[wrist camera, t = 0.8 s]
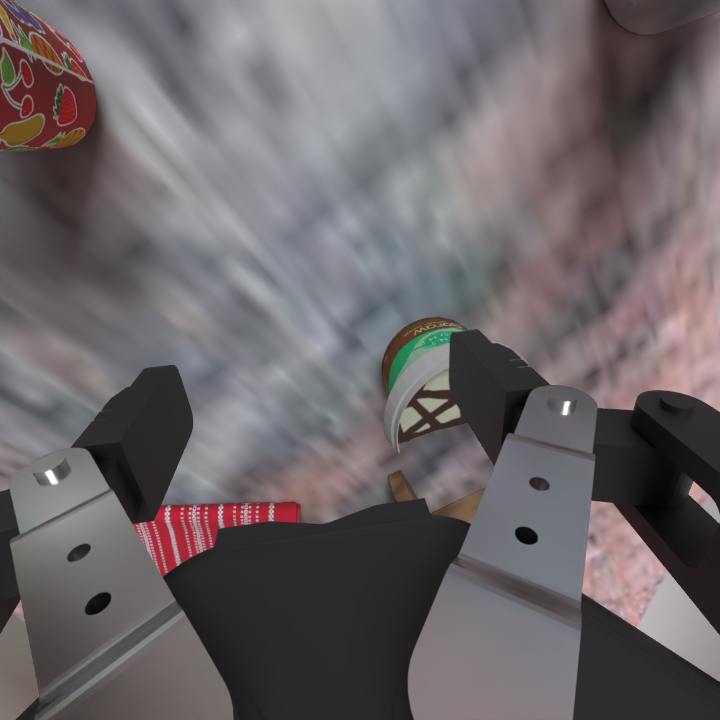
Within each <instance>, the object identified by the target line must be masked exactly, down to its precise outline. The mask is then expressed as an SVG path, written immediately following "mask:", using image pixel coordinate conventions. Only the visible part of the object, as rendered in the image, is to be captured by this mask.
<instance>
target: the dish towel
mask: <svg viewBox="0 0 720 720" xmlns="http://www.w3.org/2000/svg"><path fill="white" fill-rule="evenodd" d="M267 521H278V522H293V523H300V504H297V503H296V502H283V503H273V502H270V503H259V502H258V503H235V504H194V505H163V506H160V508H159V511H158V513H157V515H156V518H155V520H154V521H152V522H145V523H138V524H133V526H134V528H135V530H136V532H137V533H138V535H139V537H140V539H141V540H142V542H143V544H144V546H145V547H146V549H147V551H148V553H149V554H150V556H151V558H152V560H153V561H154V563H155V565H156V567H157V568H158V570H159V572H160V574H161V575H162V577H163V576H165V575H166V574H167V573H168V572H169V571H171V570H172V569H174V568H175V567H177V566H178V565H179V564H181V563H182V562H184V561H186V560H187V559H189V558H191V557H193V556H194V555H196V554H198V553H201V552H203V551H205V550H207V549H209V548H212V547H214V544H215V540H216V536H217V532H218V529H220V528H227V527H233V526H240V525H247V524H254V523H260V522H267Z"/></svg>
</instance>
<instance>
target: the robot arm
mask: <svg viewBox="0 0 720 720" xmlns="http://www.w3.org/2000/svg"><path fill="white" fill-rule="evenodd" d="M605 2H606V4H607V7H608V9H609V11H610V13H611V15H612V16H613V17H614V18H615V20H616V21H617V22H618V23H619V24H620V25H621V26H622V27H624V28H625V29H627V30H628V31H630V32H633V33H637V34H640V35H654V34H657V33H660V32H664V31H667V30H670V29H673V28H675V27H678V26H681V25H683V24H686V23H689V22H692V21H694V20H697V19H700V18H703V17H705V16H708V15H711V14H714V13H717V12H720V0H605ZM449 388H450V392H451V395H452V398H453V400H454V401H455V403H456V405H457V406H458V408H459V409H460V411H461V413H462V414H463V416H464V418H465V419H466V421H467V422H468V424H469V426H470V427H471V429H472V431H473V432H474V434H475V435H476V437H477V439H478V440H479V442H480V444H481V445H482V447H483V448H484V450H485V452H486V453H487V455H488V457H489V458H490V460H491V461H492V463H493V465H494V469H493V471H492V474H491V476H490V479H489V481H488V484H487V486H486V488H485V491H484V493H483V496H482V498H481V501H480V503H479V506H478V508H477V511H476V513H475V516H474V518H473V521H472V523H468V522H466V521H463V520H460V519H457V518H453V517H449V516H444V515H438V514H430V513H429V510H428V507H427V504H426V501H425V498H422V499H415V500H408V501H401V502H395V503H388V504H381V505H375V506H372V507H370V508H367V509H364V510H362V511H359V512H356V513H353V514H351V515H348V516H345V517H343V518H340V519H337V520H335V521H332V522H329V523H326V524H308V523H293V522H278V521H267V522H260V523H254V524H247V525H240V526H233V527H227V528H220V529H218V532H217V536H216V540H215V544H214V547H212V548H209V549H207V550H205V551H203V552H201V553H198V554H196V555H194V556H193V557H191V558H189V559H187V560H186V561H184V562H182V563H181V564H179V565H178V566H177V567H175V568H174V569H172V570H171V571H169V572H168V573H167V574H166V575H165V576H163V577H162V575H161V574H160V572H159V570H158V568H157V567H156V565H155V563H154V561H153V560H152V558H151V556H150V554H149V553H148V551H147V549H146V547H145V546H144V544H143V542H142V540H141V539H140V537H139V535H138V533H137V532H136V530H135V528H134V526H133V524H138V523H145V522H152V521H154V520H155V518H156V515H157V513H158V511H159V508H160V506H161V504H162V501H163V499H164V497H165V494H166V492H167V490H168V487H169V485H170V482H171V480H172V478H173V475H174V473H175V471H176V468H177V466H178V464H179V461H180V459H181V456H182V454H183V452H184V449H185V447H186V445H187V442H188V440H189V438H190V435H191V433H192V429H193V416H192V411H191V408H190V404H189V401H188V398H187V395H186V392H185V389H184V386H183V383H182V379H181V376H180V373H179V371H178V369H177V367H176V366H174V365H167V366H159V367H150V368H145V369H144V370H143V371H142V372H141V373H140V375H139V376H138V377H137V378H136V380H135V381H134V382H133V384H132V385H131V386H130V387H127V388H125V389H124V390H122V391H121V392H119V393H118V394H117V395H115V396H114V397H112V398H111V399H110V400H109V402H108V403H107V404H106V405H105V406H104V408H103V409H102V412H99V414H98V415H97V416H96V417H95V419H94V421H93V422H91V423H90V425H89V426H88V427H87V428H86V429H85V431H84V432H83V433H82V434H81V436H80V437H79V438H78V439H77V440H76V442H75V443H74V444H73V445H72V446H71V448H67V449H62V450H58V451H55V452H52V453H49V454H47V455H44V456H42V457H40V458H38V459H36V460H35V461H33V462H31V463H30V464H28V465H27V466H25V467H24V468H23V469H21V470H20V471H19V472H18V473H17V474H16V475H15V476H14V477H13V479H12V481H11V483H10V489H8V490H5V491H1V492H0V633H1V632H2V630H3V628H4V627H5V625H6V623H7V621H8V620H9V618H10V616H11V615H12V613H13V611H14V610H15V608H16V606H17V605H18V603H19V601H20V600H21V604H22V609H23V614H24V619H25V624H26V629H27V635H28V640H29V645H30V650H31V656H32V661H33V666H34V671H35V677H36V681H37V687H38V692H39V697H38V698H37V699H36V700H35V701H34V702H33V703H32V704H31V705H30V706H29V707H28V708H27V709H26V710H25V711H24V712H23V713H22V714H21V715H20V716H19V717H18V718H17V719H16V720H720V682H719V681H717V680H716V679H714V678H712V677H711V676H710V675H708V674H706V673H705V672H703V671H702V670H700V669H698V668H697V667H696V666H694V665H692V664H691V663H690V662H688V661H686V660H685V659H683V658H682V657H680V656H679V655H677V654H676V653H674V652H672V651H671V650H669V649H668V648H666V647H665V646H663V645H662V644H660V643H659V642H657V641H656V640H654V639H653V638H651V637H649V636H648V635H646V634H645V633H643V632H642V631H640V630H639V629H637V628H636V627H634V626H632V625H631V624H629V623H628V622H626V621H625V620H623V619H622V618H620V617H619V616H617V615H615V614H614V613H612V612H611V611H609V610H608V609H606V608H605V607H603V606H602V605H600V604H599V603H597V602H595V601H594V600H592V599H591V598H589V597H588V596H586V595H585V594H583V593H582V586H583V576H584V566H585V556H586V546H587V536H588V527H589V517H590V507H591V500H592V501H601V502H610V503H614V505H615V506H616V508H617V509H618V510H619V511H620V512H621V514H622V515H623V516H624V517H625V519H626V520H627V521H628V522H629V524H630V525H631V526H632V527H633V528H634V530H635V531H636V532H637V533H638V535H639V536H640V537H641V538H642V540H643V541H644V542H645V543H646V545H647V546H648V547H649V548H650V549H651V551H652V552H653V553H654V554H655V556H656V557H657V558H658V559H659V561H660V562H661V563H662V564H663V566H664V567H665V568H666V569H667V570H668V572H669V573H670V574H671V575H672V577H673V578H674V579H675V580H676V582H677V583H678V584H679V585H680V586H681V588H682V589H683V590H684V591H685V593H686V594H687V595H688V596H689V598H690V599H691V600H692V601H693V603H694V604H695V605H696V606H697V608H698V609H699V610H700V611H701V612H702V614H703V615H704V616H705V617H706V619H707V620H708V621H709V622H710V624H711V625H712V626H713V627H714V629H715V630H716V631H717V632H718V633H719V634H720V524H719V523H718V522H717V521H716V520H715V519H714V518H713V517H712V516H711V515H710V514H708V513H707V512H706V511H705V510H704V509H703V508H702V507H701V506H700V505H699V504H698V503H697V502H696V501H695V500H694V499H693V498H692V497H691V496H689V495H688V494H689V491H690V489H691V486H692V484H693V481H694V482H695V483H696V484H698V485H699V486H700V487H701V488H702V489H703V490H704V491H705V492H706V493H708V494H709V495H710V496H711V498H712V499H713V500H714V502H715V503H716V505H717V507H718V509H719V513H720V412H719V411H717V410H716V409H714V408H713V407H711V406H709V405H708V404H706V403H705V402H703V401H701V400H699V399H696V398H694V397H691V396H688V395H685V394H681V393H677V392H671V391H661V390H656V391H647V392H644V393H642V394H640V395H639V396H638V397H637V400H636V403H635V407H634V410H619V409H603V408H597V404H596V402H595V400H594V399H593V398H592V397H590V396H589V395H587V394H586V393H584V392H582V391H580V390H577V389H574V388H570V387H566V386H558V385H550V384H549V383H548V382H547V381H546V380H544V379H543V378H542V377H541V376H540V375H539V374H538V373H537V372H536V371H535V370H534V369H533V368H531V367H529V365H528V364H527V363H526V362H525V361H524V360H521V357H519V356H518V355H517V354H516V353H515V352H514V351H513V350H512V349H510V348H508V347H505V346H503V345H501V344H498V343H492V342H491V341H490V340H488V339H487V338H486V337H485V336H484V335H483V334H482V333H481V332H480V331H479V330H478V329H475V330H466V331H458V332H452V334H451V336H450V349H449Z"/></svg>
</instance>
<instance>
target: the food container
mask: <svg viewBox="0 0 720 720" xmlns="http://www.w3.org/2000/svg"><path fill="white" fill-rule="evenodd" d="M466 330H468V329H466V328H464V327H463V326H461V325H460V324H458V323H457V322H455V321H454V320H449V319H445V318H441V317H433V318H425V319H421V320H418V321H415V322H413V323H411V324H409V325H408V326H406V327H405V328H403V329H402V330H401V331H400V332H399V333H397V335H396V336H395V337H394V338H393V339H392V341H391V342H390V344H389V345H388V347H387V349H386V352H385V354H384V358H383V363H382V375H383V380H384V386H385V391H386V396H387V403H386V406H385V411H384V431H385V435H386V439H387V440H388V442H389V443H390V444H391V446H392V447H393V449H395V448H397V450H398V452H399V453H400V450H399V445H398V443H402V442H405V441H409V440H411V439H413V438H415V437H417V436H420V435H423V434H426V433H429V432H432V431H435V430H439V429H443V428H448V427H452V426H456V425H460V424H463V423H467V421H466V419H465V418H464V416H463V414H462V413H461V411H460V409H459V408H458V406H457V405H456V403H455V401H454V400H453V398H452V395H451V392H450V388H449V349H450V336H451V334H452V332H458V331H466ZM490 341H491V342H492V343H498V344H501V345H503V346H505V347H508V348H510V349H512V348H511V347H509V346H507V345H505V344H502V343H500V342H497V341H492V340H490ZM512 350H513V351H514V352H515V353H516V354H517V355H518V356H519V357H521V360H524V361H525V362H526V363H527V364H528V362H527V361H526V359H525V358H524V357H523V356H522V355H521V354H519V353H518V352H517V351H516V350H514V349H512ZM528 365H529V364H528ZM529 367H531V366H530V365H529Z"/></svg>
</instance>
